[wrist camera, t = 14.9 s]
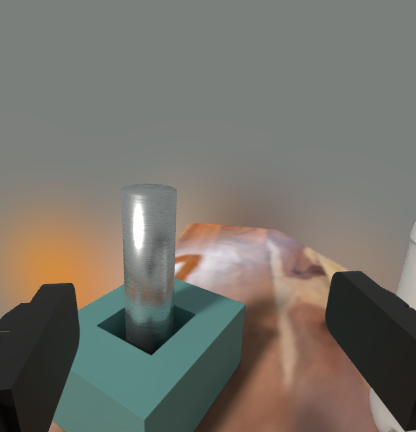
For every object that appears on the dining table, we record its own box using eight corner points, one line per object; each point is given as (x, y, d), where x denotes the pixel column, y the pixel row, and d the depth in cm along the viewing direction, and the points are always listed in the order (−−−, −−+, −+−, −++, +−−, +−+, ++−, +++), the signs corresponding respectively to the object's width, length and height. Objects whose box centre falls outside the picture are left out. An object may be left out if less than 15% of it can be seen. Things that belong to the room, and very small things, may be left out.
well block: (151, 321, 37) (150, 269, 35) (240, 363, 31) (245, 304, 29) (38, 408, 25) (27, 339, 23) (146, 501, 20) (144, 420, 17)
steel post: (147, 357, 31) (147, 181, 25) (180, 375, 29) (187, 189, 23) (117, 384, 27) (109, 189, 22) (152, 407, 25) (152, 199, 20)
